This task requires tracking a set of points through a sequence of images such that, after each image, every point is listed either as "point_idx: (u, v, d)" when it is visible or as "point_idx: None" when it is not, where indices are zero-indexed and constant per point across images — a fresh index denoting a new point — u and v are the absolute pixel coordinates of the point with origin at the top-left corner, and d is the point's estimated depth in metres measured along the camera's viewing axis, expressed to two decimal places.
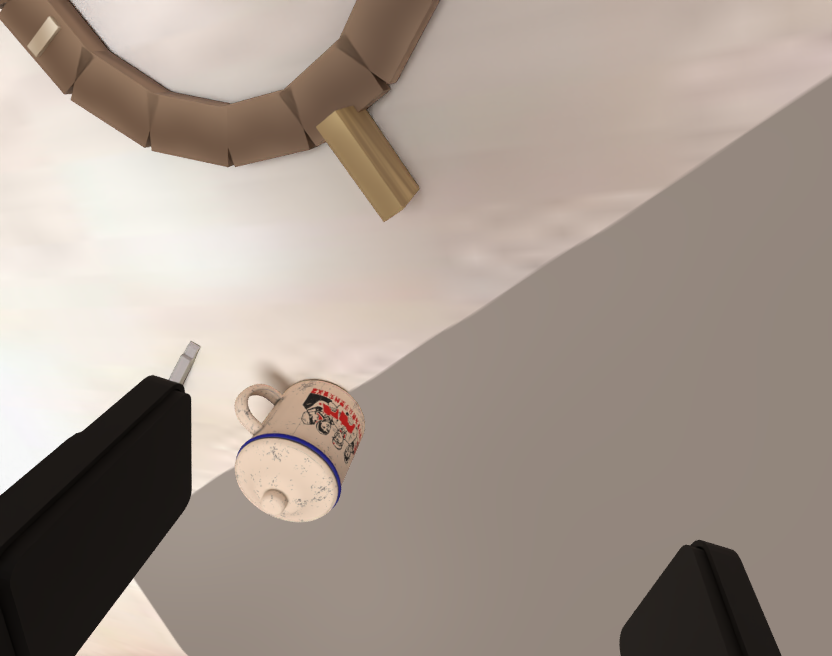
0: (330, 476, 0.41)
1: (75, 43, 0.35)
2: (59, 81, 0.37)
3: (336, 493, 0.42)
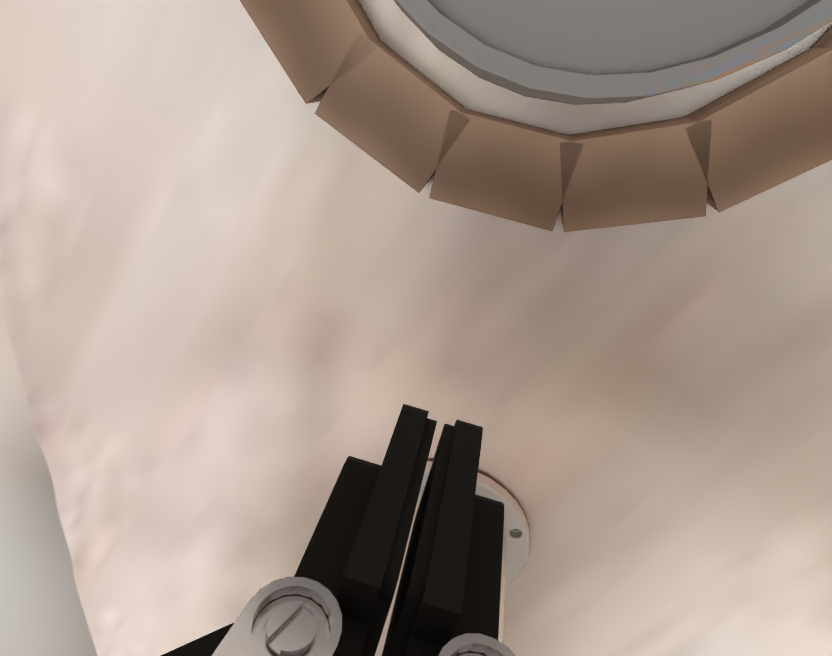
0: None
1: None
2: None
3: None
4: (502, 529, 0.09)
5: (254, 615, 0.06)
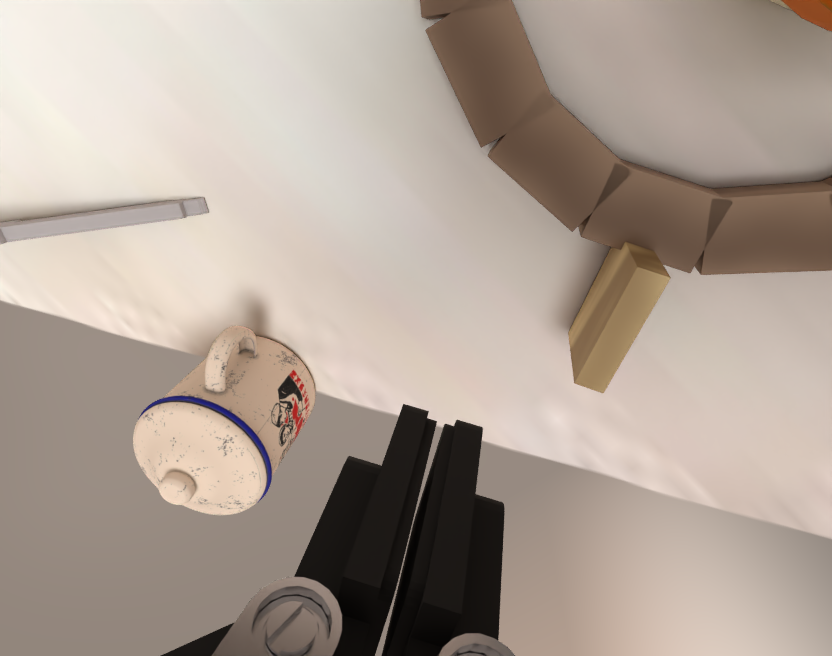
0: (257, 498, 0.32)
1: None
2: None
3: (243, 510, 0.33)
4: (502, 529, 0.09)
5: (254, 615, 0.06)
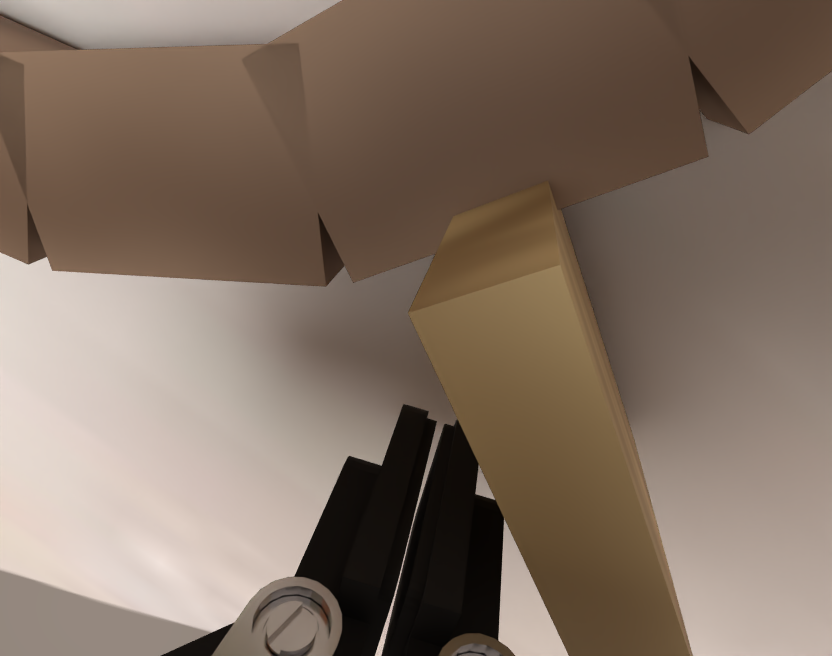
0: None
1: None
2: None
3: None
4: (502, 529, 0.09)
5: (254, 615, 0.06)
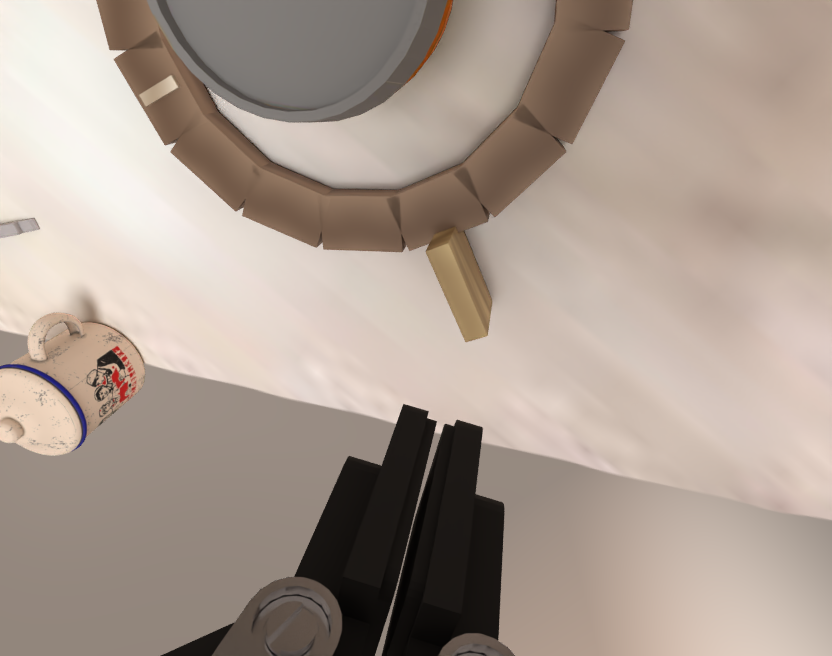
0: (77, 439, 0.43)
1: (190, 104, 0.35)
2: (163, 132, 0.37)
3: (71, 450, 0.44)
4: (502, 529, 0.09)
5: (254, 615, 0.06)
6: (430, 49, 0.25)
